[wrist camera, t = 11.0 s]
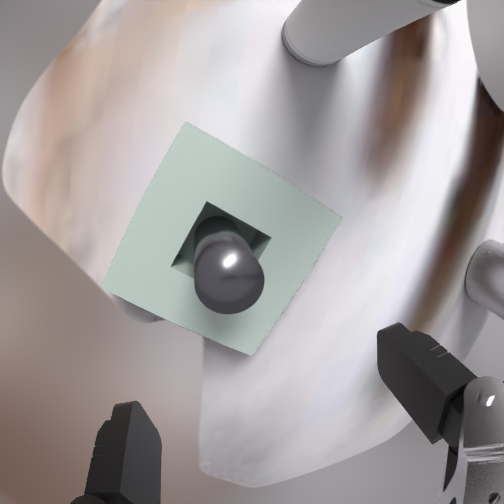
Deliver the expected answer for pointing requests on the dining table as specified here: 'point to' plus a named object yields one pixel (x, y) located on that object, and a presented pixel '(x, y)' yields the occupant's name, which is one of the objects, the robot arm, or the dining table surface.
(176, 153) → the socket block
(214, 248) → the pin
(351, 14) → the travel mug
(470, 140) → the dining table surface
